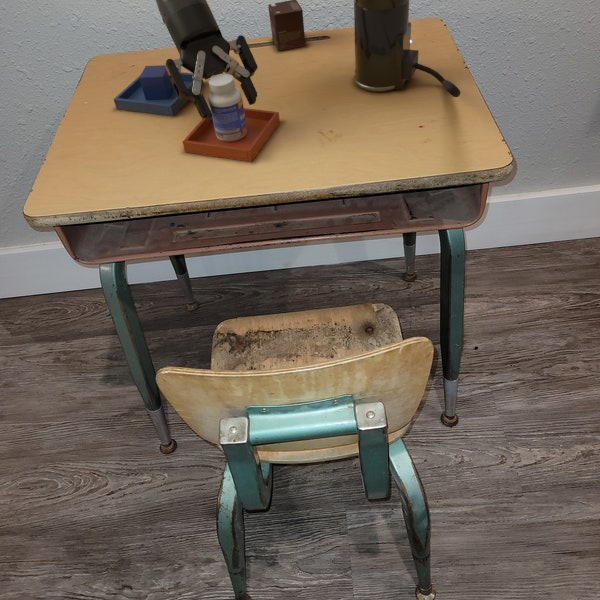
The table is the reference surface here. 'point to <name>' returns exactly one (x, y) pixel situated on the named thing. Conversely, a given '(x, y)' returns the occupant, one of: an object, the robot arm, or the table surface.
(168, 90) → the blue block
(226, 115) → the pill bottle
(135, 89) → the blue tray
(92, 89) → the table surface
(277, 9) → the box
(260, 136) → the warm tray
